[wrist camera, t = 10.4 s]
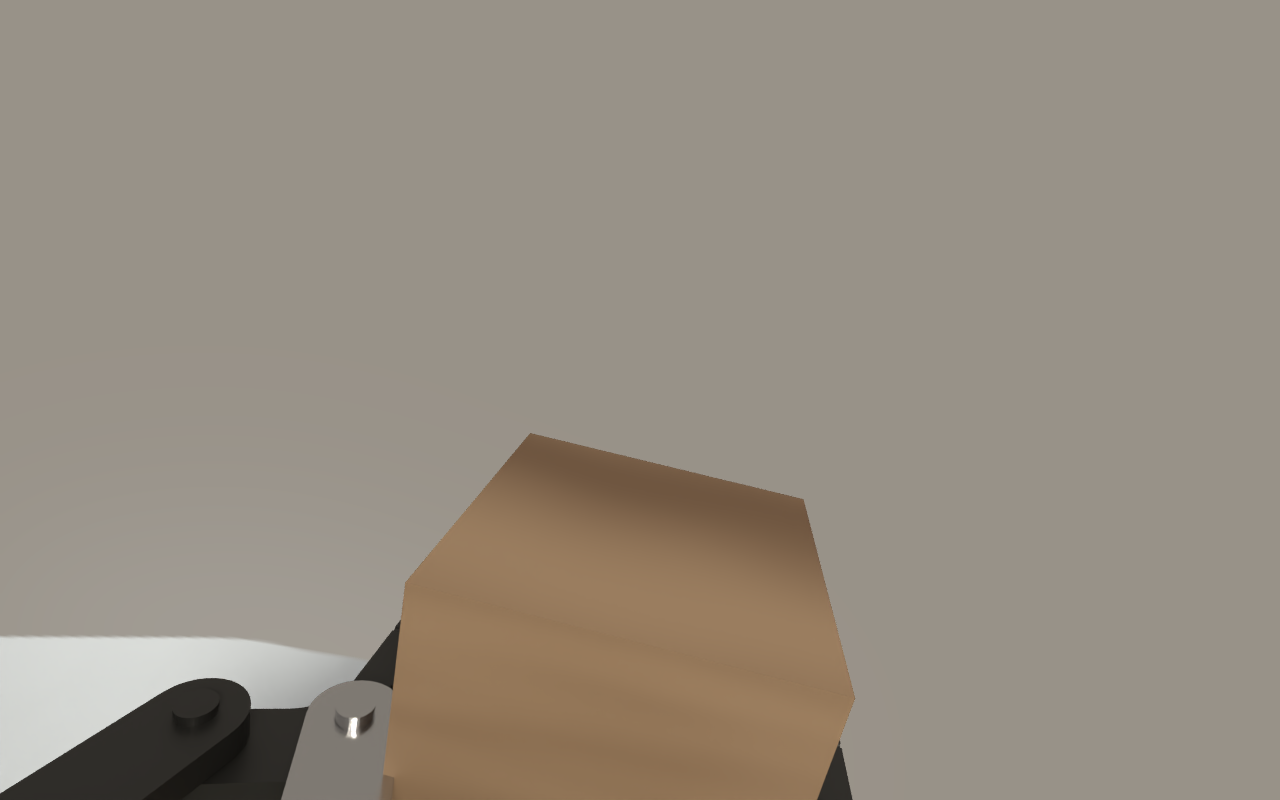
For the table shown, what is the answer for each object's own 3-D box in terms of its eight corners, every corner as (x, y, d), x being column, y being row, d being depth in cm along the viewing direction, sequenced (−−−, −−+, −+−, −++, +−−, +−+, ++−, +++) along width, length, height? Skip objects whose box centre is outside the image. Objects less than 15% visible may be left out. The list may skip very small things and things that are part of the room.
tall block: (655, 1229, 10) (855, 698, 7) (341, 1132, 10) (405, 582, 7) (678, 900, 15) (803, 499, 12) (461, 840, 15) (530, 433, 12)
